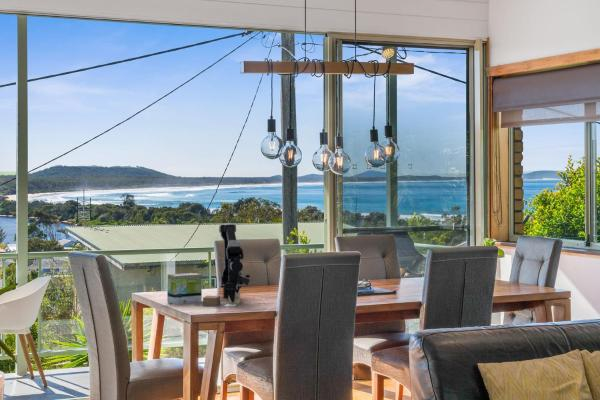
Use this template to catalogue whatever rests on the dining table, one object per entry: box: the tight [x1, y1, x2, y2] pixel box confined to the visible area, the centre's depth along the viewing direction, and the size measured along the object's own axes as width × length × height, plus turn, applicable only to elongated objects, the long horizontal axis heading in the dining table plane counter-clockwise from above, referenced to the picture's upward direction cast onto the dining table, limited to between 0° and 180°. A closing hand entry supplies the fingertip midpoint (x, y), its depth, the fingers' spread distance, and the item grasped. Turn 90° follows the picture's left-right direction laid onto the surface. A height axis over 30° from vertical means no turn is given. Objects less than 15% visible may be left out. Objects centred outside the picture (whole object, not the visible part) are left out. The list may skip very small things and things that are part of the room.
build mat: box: [193, 300, 244, 308], centre depth 426 cm, size 16×22×1 cm
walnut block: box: [202, 295, 221, 307], centre depth 424 cm, size 7×7×4 cm
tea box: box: [166, 272, 203, 305], centre depth 436 cm, size 15×10×15 cm, turn 126°
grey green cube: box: [227, 292, 241, 304], centre depth 429 cm, size 5×5×5 cm
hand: (234, 300), depth 429 cm, fingers open, 7 cm apart
